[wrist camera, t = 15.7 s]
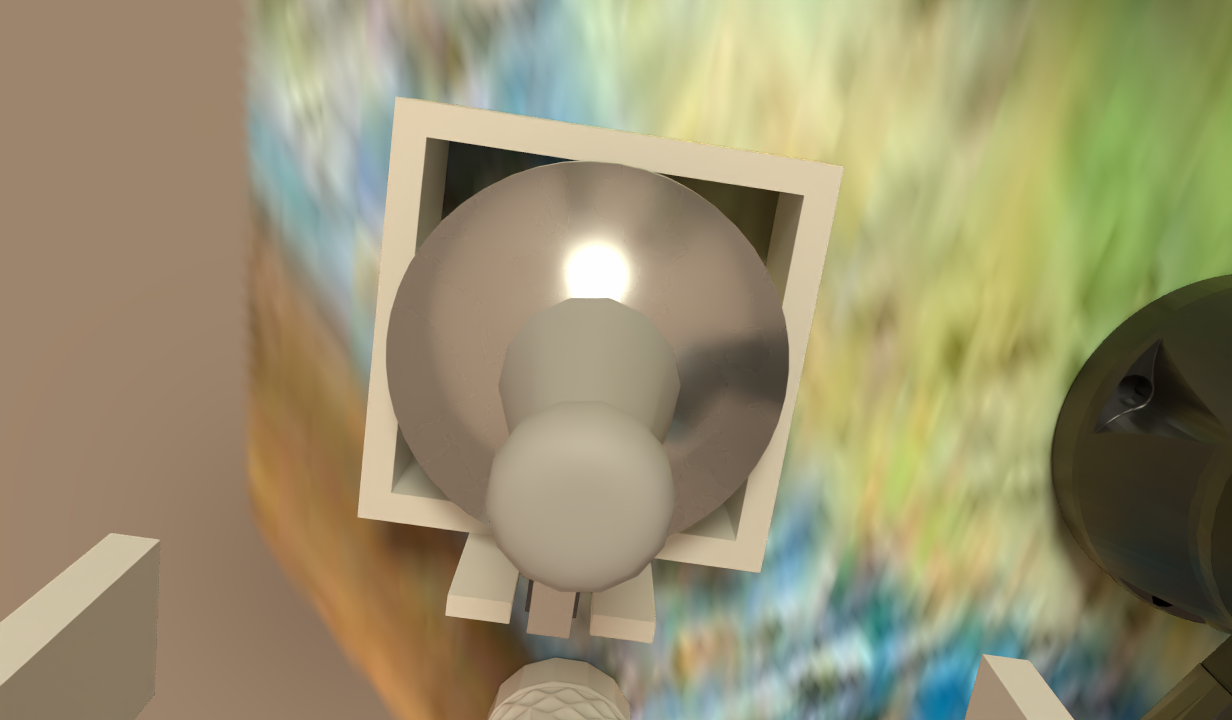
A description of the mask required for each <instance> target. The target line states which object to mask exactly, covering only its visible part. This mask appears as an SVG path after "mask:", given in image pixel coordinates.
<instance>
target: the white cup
mask: <svg viewBox="0 0 1232 720" xmlns="http://www.w3.org/2000/svg"><path fill="white" fill-rule="evenodd" d="M487 720H631V715H630V705H629V703H628V701H627V700H626V698H625V696H624V695H623V693H622V692H621V690H620V688H619V687H618V685H617V683H616V682H615V680H614V679H613V678H611V677H610V676H608V675H607V674H605V673H604V672H602V671H600V670H599V669H597V668H596V667H594V666H593V665H591V664H589V663H588V662H582V661H576V660H569V659H563V658H557V657H555V658H551V659H547V660H543V661H539V662H535V663H531V664H527V665H524V666H523V667H522V668H521V669H519V670H518V671H517V672H516V673H514V674H513V675H512V676H511V677H509V678H508V679H507V680H506V681H504V682H503V683H502V684H501V685H500V687H499V690H498V692H497V694H496V696H495V699H494V701H493V703H492V705H491V708H490V710H489V713H488V716H487Z"/></svg>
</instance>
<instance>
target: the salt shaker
mask: <svg viewBox="0 0 1232 720" xmlns="http://www.w3.org/2000/svg"><path fill="white" fill-rule="evenodd" d="M498 388H499V392H500V397H501V401H502V405H503V410H504V414H505V418H506V423H507V427H508V431H509V437H508V438H507V440H506V441H505V442H504V443H503V445H502V446H501V447H500V448H499V450H498V452H497V453H496V455H495V457H494V459H493V463H492V468H491V472H490V477H489V481H488V486H487V490H486V495H485V504H486V511H487V514H488V517H489V521H490V524H491V528H492V531H493V534H494V538H495V541H496V545H497V547H498V548H499V549H500V550H501V552H502V553H503V554H504V555H505V556H506V557H507V558H508V560H509V561H510V562H511V563H512V564H513V565H514V566H515V567H516V569H517V570H518V571H519V572H520V573H521V574H522V575H523V576H524V577H526V578H529V579H531V580H533V581H536V582H538V583H540V584H543V585H545V586H548V587H550V588H552V589H555V590H557V591H559V592H603V591H605V590H608V589H610V588H612V587H614V586H617V585H619V584H621V583H623V582H625V581H628V580H630V579H632V578H634V577H637V576H638V575H639V574H640V573H641V572H642V571H643V570H644V569H645V567H646V566H647V565H648V564H649V563H650V562H651V561H652V560H653V559H654V557H655V556H656V555H657V554H658V553H659V552H660V551H661V550H662V549H663V547H664V546H665V542H666V539H667V535H668V531H669V527H670V523H671V519H672V515H673V511H674V507H675V503H676V499H677V497H676V492H675V487H674V482H673V478H672V473H671V468H670V464H669V459H668V455H667V452H666V449H665V448H664V447H663V444H664V441H665V439H666V436H667V433H668V431H669V428H670V425H671V422H672V418H673V414H674V410H675V406H676V402H677V398H678V394H679V390H680V381H679V376H678V372H677V367H676V362H675V358H674V353H673V348H672V347H671V345H670V344H669V343H668V342H667V340H666V339H665V338H664V337H663V335H662V334H661V333H660V332H659V331H658V329H657V328H656V327H655V326H654V324H653V323H652V322H651V321H650V319H649V318H648V317H647V316H646V315H645V314H643V313H641V312H639V311H636V310H634V309H632V308H630V307H628V306H626V305H624V304H622V303H620V302H618V301H616V300H613V299H611V298H569V299H567V300H565V301H562V302H560V303H558V304H556V305H554V306H552V307H549V308H547V309H545V310H543V311H541V312H539V313H536V314H534V315H532V316H531V317H530V318H529V319H528V321H527V322H526V323H525V325H524V326H523V327H522V328H521V330H520V331H519V332H518V334H517V335H516V336H515V338H514V339H513V340H512V342H511V343H510V344H509V345H508V347H507V349H506V354H505V358H504V362H503V367H502V371H501V375H500V380H499V384H498Z"/></svg>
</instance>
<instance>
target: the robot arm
mask: <svg viewBox="0 0 1232 720" xmlns="http://www.w3.org/2000/svg"><path fill="white" fill-rule="evenodd" d="M1053 477H1054V485H1055V491H1056V495H1057V499H1058V503H1059V506H1060V509H1061V512H1062V514H1063V517H1064V519H1065V522H1066V524H1067V526H1068V527H1069V529H1070V531H1071V533H1072V535H1073V536H1074V538H1075V539H1076V541H1077V542H1078V544H1079V545H1080V546H1081V547H1082V549H1083V550H1084V551H1085V552H1086V553H1087V554H1088V556H1089V557H1090V558H1091V559H1092V560H1093V561H1094V562H1095V563H1097V564H1098V565H1099V566H1100V567H1101V568H1102V569H1103V570H1104V571H1105V572H1106V573H1107V574H1109V575H1110V576H1111V577H1112V578H1113V579H1114V580H1115V581H1116V582H1117V583H1118V584H1120V585H1121V586H1122V587H1123V588H1124V589H1126V590H1127V591H1128V592H1130V593H1131V594H1133V595H1134V596H1136V597H1137V598H1139V599H1141V600H1142V601H1144V602H1146V603H1147V604H1149V605H1151V606H1153V607H1155V608H1157V609H1159V610H1162V611H1164V612H1166V613H1169V614H1172V615H1175V616H1178V617H1181V618H1184V619H1187V620H1190V621H1194V622H1199V623H1204V624H1207V625H1209V626H1211V627H1213V628H1215V629H1217V630H1220V631H1222V632H1225V633H1228V634H1231V636H1230V637H1229V638H1228V639H1227V640H1226V641H1225V642H1224V643H1222V644H1221V645H1220V646H1219V647H1218V648H1217V649H1216V650H1215V651H1214V652H1213V653H1212V654H1211V655H1210V656H1208V657H1207V658H1206V659H1205V660H1204V661H1202V662H1201V663H1199V664H1198V665H1197V666H1196V667H1195V668H1194V669H1193V670H1192V671H1191V672H1190V673H1189V674H1188V675H1187V676H1186V677H1185V678H1184V679H1182V680H1181V681H1180V682H1179V683H1178V684H1177V685H1176V686H1175V687H1174V688H1173V689H1172V690H1171V691H1170V692H1169V693H1168V694H1167V695H1166V696H1165V697H1164V698H1163V699H1161V700H1160V701H1159V702H1158V703H1157V704H1156V705H1155V706H1154V707H1153V708H1152V709H1151V710H1150V711H1149V712H1147V713H1146V714H1145V715H1144V716H1143V717H1142V718H1141V719H1140V720H1232V274H1231V275H1225V276H1219V277H1214V278H1210V279H1206V280H1202V281H1199V282H1196V283H1193V284H1190V285H1187V286H1185V287H1182V288H1179V289H1177V290H1175V291H1173V292H1170V293H1168V294H1166V295H1164V296H1162V297H1160V298H1159V299H1157V300H1155V301H1153V302H1151V303H1150V304H1148V305H1147V306H1145V307H1144V308H1142V309H1140V310H1139V311H1138V312H1136V313H1135V314H1134V315H1132V316H1131V317H1130V318H1128V319H1127V320H1126V321H1125V322H1123V323H1122V324H1121V325H1120V326H1119V327H1117V328H1116V329H1115V330H1114V331H1113V332H1112V333H1111V334H1110V335H1109V336H1108V337H1107V338H1106V339H1105V340H1104V341H1103V343H1102V344H1101V345H1100V346H1099V347H1098V348H1097V349H1096V351H1095V352H1094V353H1093V354H1092V356H1091V357H1090V358H1089V359H1088V361H1087V362H1086V364H1085V365H1084V367H1083V368H1082V370H1081V371H1080V373H1079V375H1078V376H1077V378H1076V380H1075V381H1074V383H1073V385H1072V387H1071V389H1070V391H1069V393H1068V396H1067V398H1066V401H1065V403H1064V405H1063V408H1062V411H1061V414H1060V417H1059V421H1058V425H1057V429H1056V434H1055V440H1054V449H1053ZM159 564H160V540H157V539H150V538H143V537H136V536H129V535H121V534H114V533H110V534H109V535H108V536H107V537H106V538H104V539H103V540H102V541H101V542H99V543H98V544H97V545H96V546H94V547H93V548H92V549H91V550H89V551H88V552H87V553H86V554H84V555H83V556H82V557H81V558H80V559H78V560H77V561H76V562H75V563H73V564H72V565H71V566H70V567H68V568H67V569H66V570H65V571H64V572H62V573H61V574H60V575H59V576H58V577H56V578H55V579H54V580H52V581H51V582H50V583H49V584H47V585H46V586H45V587H44V588H42V589H41V590H40V591H39V592H38V593H36V594H35V595H34V596H33V597H31V598H30V599H29V600H28V601H26V602H25V603H24V604H23V605H22V606H20V607H19V608H18V609H17V610H15V611H14V612H13V613H12V614H10V615H9V616H8V617H7V618H6V619H4V620H3V621H2V622H1V623H0V720H134V719H135V718H136V717H137V716H138V715H139V713H140V712H141V711H142V710H143V708H144V707H145V706H146V705H147V703H148V702H149V701H150V700H151V698H152V697H153V696H154V695H155V670H156V644H157V618H158V591H159ZM965 720H1074V719H1073V718H1072V716H1071V715H1070V714H1069V712H1068V711H1067V710H1066V708H1065V707H1064V706H1063V704H1062V703H1061V702H1060V700H1059V699H1058V698H1057V697H1056V695H1055V694H1054V693H1053V691H1052V690H1051V689H1050V687H1049V686H1048V685H1047V683H1046V682H1045V681H1044V679H1043V678H1042V677H1041V676H1040V674H1039V673H1038V672H1037V670H1036V669H1035V668H1034V666H1033V665H1032V664H1031V662H1030V661H1028V660H1021V659H1014V658H1007V657H1000V656H992V655H985V654H983V655H982V658H981V662H980V666H979V669H978V673H977V677H976V680H975V684H974V688H973V691H972V695H971V698H970V702H969V706H968V709H967V713H966V717H965Z"/></svg>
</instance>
